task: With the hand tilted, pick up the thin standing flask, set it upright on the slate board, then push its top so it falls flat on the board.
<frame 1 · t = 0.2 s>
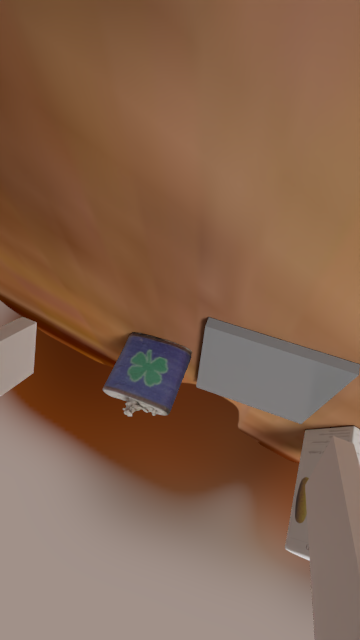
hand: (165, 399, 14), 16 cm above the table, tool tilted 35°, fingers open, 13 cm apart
slate board: (262, 373, 43), on the table
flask: (161, 341, 46), on the table
supplement box: (349, 439, 50), on the table
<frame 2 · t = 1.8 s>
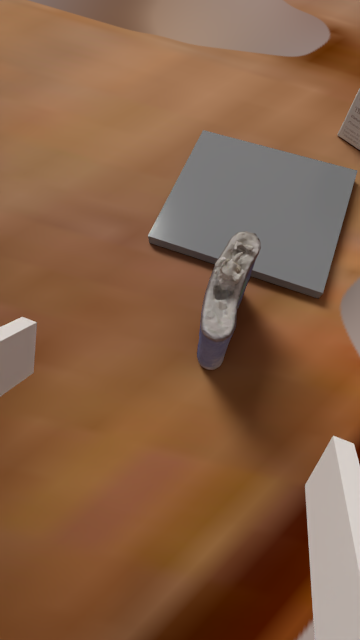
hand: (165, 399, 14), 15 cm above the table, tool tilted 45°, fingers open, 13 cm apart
slate board: (254, 209, 37), on the table
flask: (219, 325, 32), on the table
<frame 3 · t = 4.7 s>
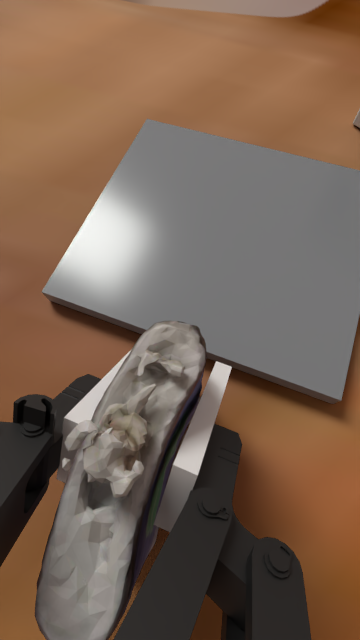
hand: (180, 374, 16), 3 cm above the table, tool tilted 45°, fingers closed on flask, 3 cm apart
slate board: (223, 242, 23), on the table
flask: (156, 456, 18), on the table, touching gripper
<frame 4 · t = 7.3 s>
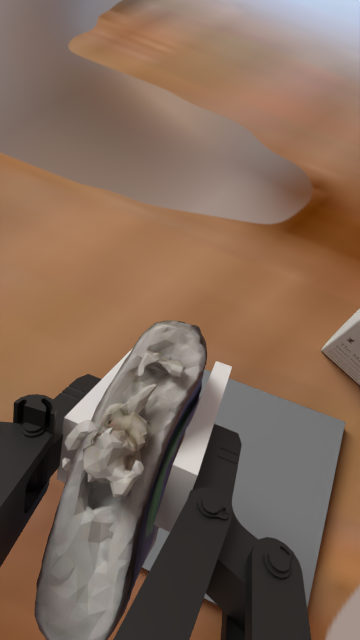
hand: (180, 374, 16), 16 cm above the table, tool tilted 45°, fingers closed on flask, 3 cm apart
slate board: (214, 474, 29), on the table
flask: (156, 456, 18), point 12 cm above the table, touching gripper
when the fingers open (5 cm above the table, at t = 9.8 s): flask stays where it is, resting on slate board.
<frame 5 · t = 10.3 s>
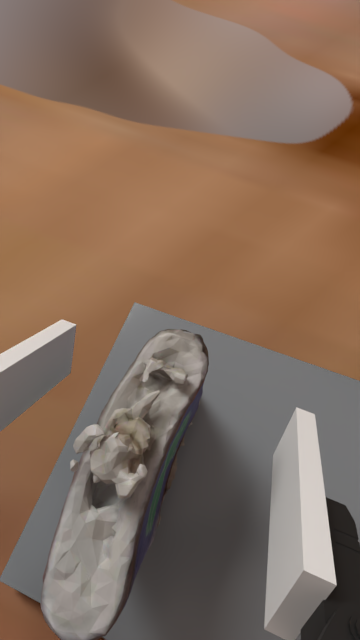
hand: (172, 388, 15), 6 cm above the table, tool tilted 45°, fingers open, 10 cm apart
slate board: (225, 484, 19), on the table
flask: (156, 456, 18), point 1 cm above the table, touching slate board
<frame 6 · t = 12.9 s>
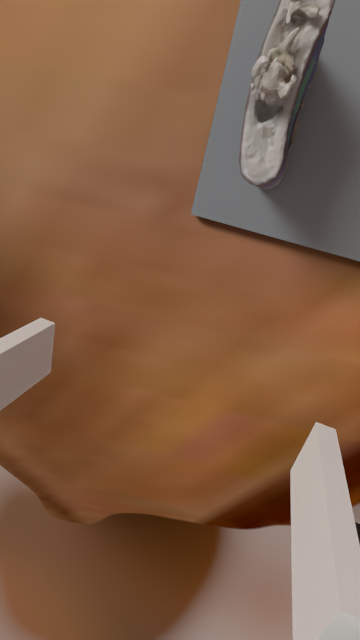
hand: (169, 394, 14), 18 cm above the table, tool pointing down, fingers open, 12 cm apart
slate board: (336, 134, 24), on the table
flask: (281, 121, 24), point 1 cm above the table, touching slate board
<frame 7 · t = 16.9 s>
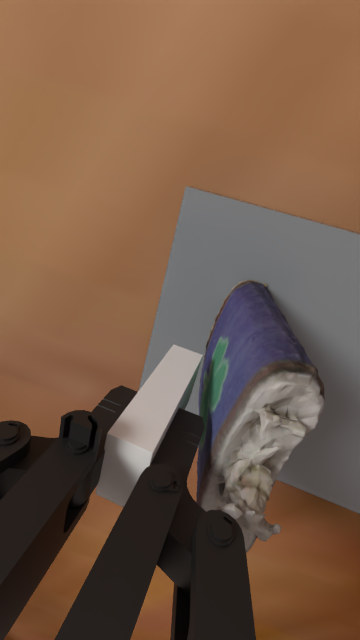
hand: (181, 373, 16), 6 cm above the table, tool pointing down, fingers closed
slate board: (297, 363, 20), on the table
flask: (230, 350, 20), point 1 cm above the table, touching slate board
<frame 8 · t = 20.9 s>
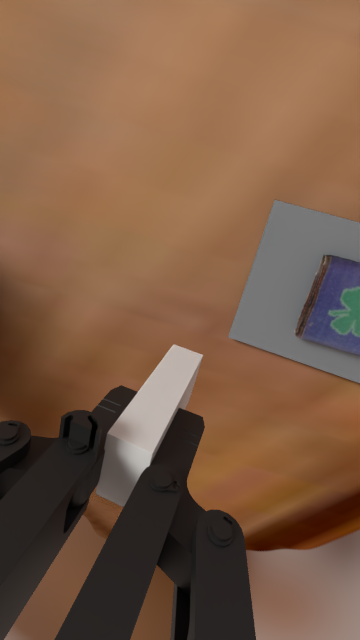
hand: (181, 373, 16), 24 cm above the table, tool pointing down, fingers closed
slate board: (330, 297, 36), on the table
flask: (306, 296, 34), point 3 cm above the table, touching slate board
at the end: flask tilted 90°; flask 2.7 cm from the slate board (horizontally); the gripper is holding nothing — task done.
